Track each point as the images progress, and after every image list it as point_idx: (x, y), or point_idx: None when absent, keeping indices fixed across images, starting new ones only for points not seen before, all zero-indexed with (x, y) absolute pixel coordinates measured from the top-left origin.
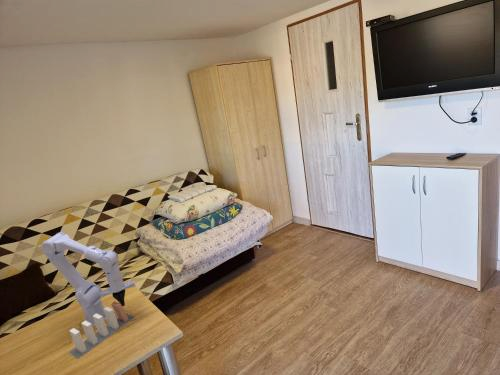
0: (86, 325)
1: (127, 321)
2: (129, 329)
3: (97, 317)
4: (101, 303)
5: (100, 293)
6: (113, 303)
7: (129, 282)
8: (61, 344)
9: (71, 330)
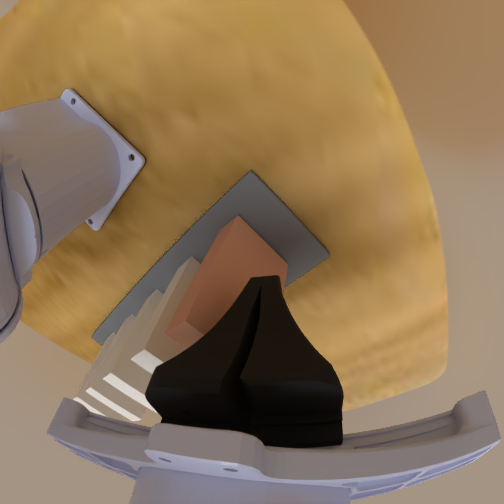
0: (124, 415)
1: None
2: (297, 320)
3: (144, 404)
4: (53, 202)
5: (76, 454)
6: (188, 342)
7: (441, 459)
8: (39, 277)
9: (80, 402)
